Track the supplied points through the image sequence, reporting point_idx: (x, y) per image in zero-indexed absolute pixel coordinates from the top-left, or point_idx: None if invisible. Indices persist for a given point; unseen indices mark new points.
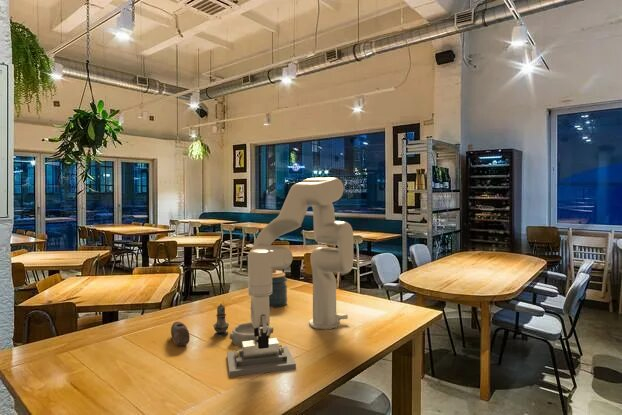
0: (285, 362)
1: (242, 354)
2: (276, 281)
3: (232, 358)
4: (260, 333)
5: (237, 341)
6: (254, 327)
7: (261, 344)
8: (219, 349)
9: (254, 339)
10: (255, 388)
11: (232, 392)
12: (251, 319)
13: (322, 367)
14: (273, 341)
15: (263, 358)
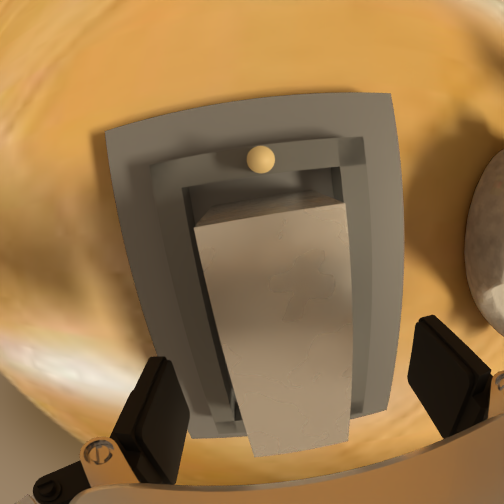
0: (205, 411)
1: (293, 195)
2: None
3: (294, 124)
4: (86, 469)
5: (498, 169)
6: (82, 491)
7: (129, 398)
8: (460, 75)
9: (483, 270)
10: (29, 268)
11: (5, 179)
12: (441, 487)
13: (203, 474)
14: (289, 436)
15: (194, 338)
